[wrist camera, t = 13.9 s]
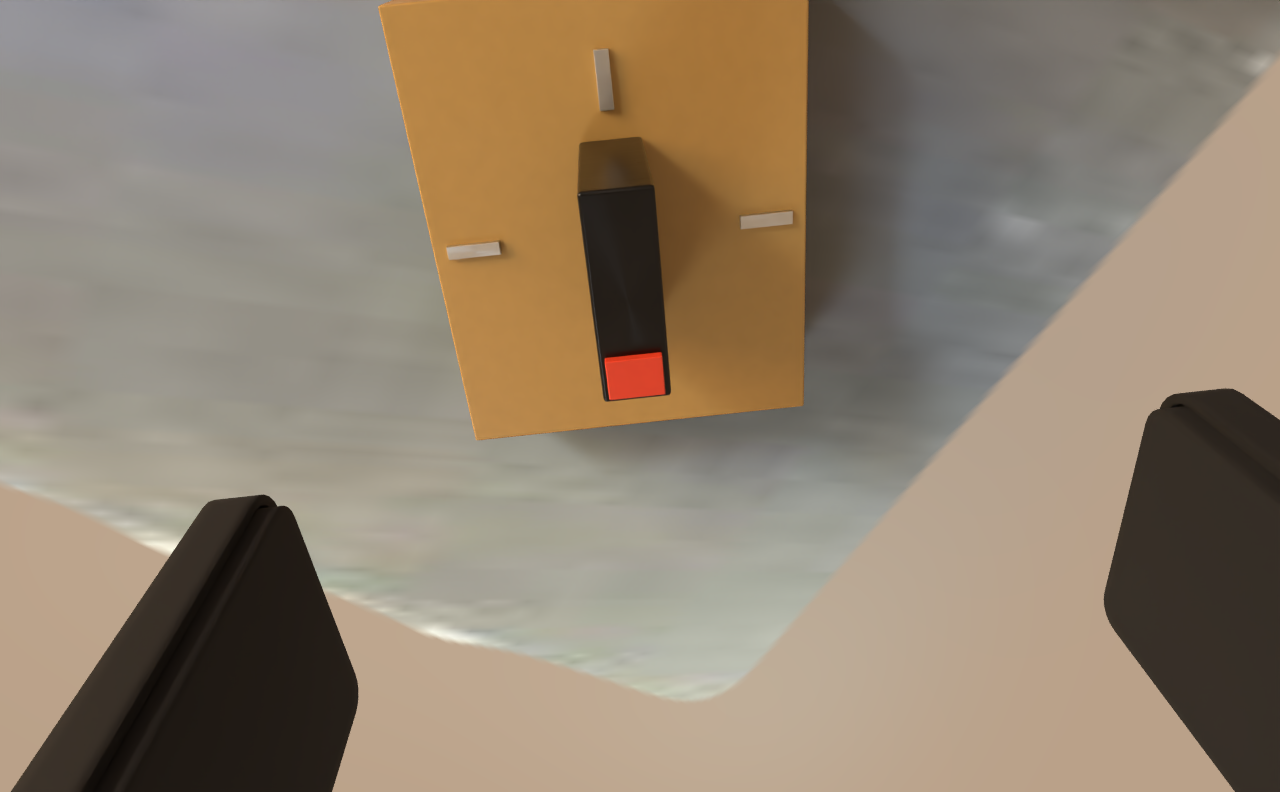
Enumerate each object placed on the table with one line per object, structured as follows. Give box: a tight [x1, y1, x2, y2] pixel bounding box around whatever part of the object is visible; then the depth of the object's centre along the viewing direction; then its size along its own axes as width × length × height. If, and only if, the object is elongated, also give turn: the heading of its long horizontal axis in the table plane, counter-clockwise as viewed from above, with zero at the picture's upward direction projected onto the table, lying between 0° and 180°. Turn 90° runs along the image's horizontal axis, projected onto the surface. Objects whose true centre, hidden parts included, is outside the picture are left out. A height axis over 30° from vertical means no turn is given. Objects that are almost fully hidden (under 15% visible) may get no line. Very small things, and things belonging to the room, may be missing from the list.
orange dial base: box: [378, 0, 809, 440], centre depth 23 cm, size 12×10×3 cm
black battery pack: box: [577, 137, 671, 402], centre depth 20 cm, size 5×2×5 cm, turn 5°
